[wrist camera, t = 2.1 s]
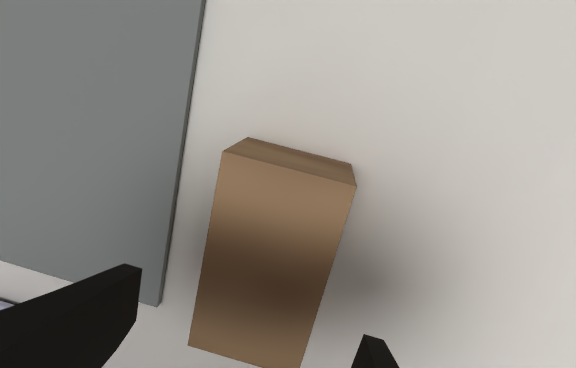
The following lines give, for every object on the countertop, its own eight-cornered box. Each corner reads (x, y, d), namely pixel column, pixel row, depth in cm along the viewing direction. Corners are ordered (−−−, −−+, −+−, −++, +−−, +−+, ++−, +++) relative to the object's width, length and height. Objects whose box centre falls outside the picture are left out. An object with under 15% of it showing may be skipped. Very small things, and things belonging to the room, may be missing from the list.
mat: (160, 302, 19) (157, 307, 18) (-77, 231, 20) (-85, 234, 19) (222, -116, 13) (219, -123, 13) (-120, -192, 14) (-133, -200, 13)
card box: (304, 317, 18) (296, 377, 14) (217, 292, 18) (187, 345, 15) (350, 162, 16) (356, 186, 12) (248, 136, 16) (222, 151, 12)
